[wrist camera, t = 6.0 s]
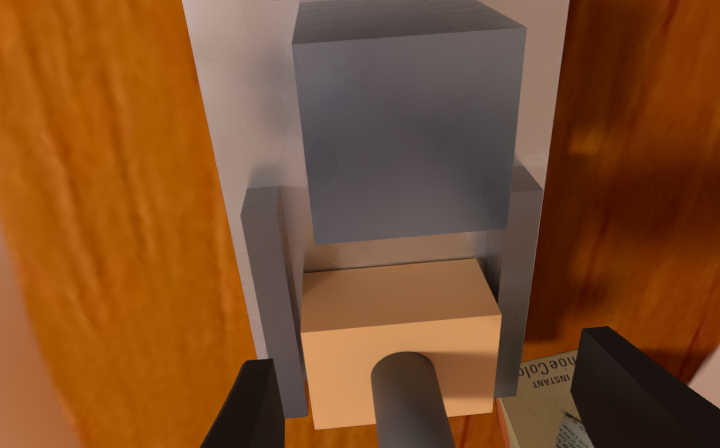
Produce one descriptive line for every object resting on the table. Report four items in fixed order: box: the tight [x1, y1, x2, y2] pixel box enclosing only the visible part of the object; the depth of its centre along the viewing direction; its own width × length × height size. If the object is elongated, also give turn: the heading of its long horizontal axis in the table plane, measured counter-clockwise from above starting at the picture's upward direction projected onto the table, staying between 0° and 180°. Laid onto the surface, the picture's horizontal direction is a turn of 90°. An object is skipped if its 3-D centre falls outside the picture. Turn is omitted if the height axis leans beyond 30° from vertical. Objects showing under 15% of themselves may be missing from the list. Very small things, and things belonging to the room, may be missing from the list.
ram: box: [301, 258, 502, 448], centre depth 19 cm, size 5×7×8 cm
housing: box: [292, 0, 527, 245], centre depth 15 cm, size 6×5×6 cm
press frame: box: [182, 0, 570, 418], centre depth 18 cm, size 20×12×5 cm, turn 3°
